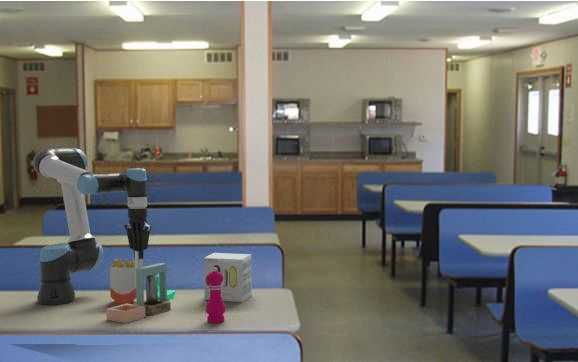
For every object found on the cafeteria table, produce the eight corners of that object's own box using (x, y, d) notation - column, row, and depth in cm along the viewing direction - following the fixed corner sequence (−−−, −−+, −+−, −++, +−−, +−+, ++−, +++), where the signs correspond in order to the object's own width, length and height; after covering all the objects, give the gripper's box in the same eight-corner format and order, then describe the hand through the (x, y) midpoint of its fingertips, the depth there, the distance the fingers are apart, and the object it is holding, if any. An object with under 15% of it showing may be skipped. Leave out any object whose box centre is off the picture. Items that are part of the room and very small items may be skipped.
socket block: (133, 311, 262) (133, 304, 262) (152, 306, 270) (152, 298, 270) (152, 315, 257) (152, 307, 256) (170, 309, 265) (170, 302, 265)
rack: (106, 319, 251) (106, 308, 251) (126, 313, 259) (126, 303, 259) (125, 323, 245) (125, 312, 245) (145, 317, 254) (145, 306, 253)
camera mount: (164, 303, 276) (164, 278, 276) (147, 302, 278) (147, 277, 277) (176, 296, 288) (175, 272, 287) (159, 295, 290) (159, 272, 289)
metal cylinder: (144, 311, 263) (143, 275, 262) (152, 308, 267) (151, 273, 266) (152, 312, 260) (151, 276, 260) (160, 310, 264) (159, 274, 263)
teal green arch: (136, 313, 259) (135, 268, 258) (161, 305, 270) (160, 263, 269) (142, 314, 257) (141, 269, 256) (167, 306, 268) (166, 263, 267)
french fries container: (114, 300, 281) (113, 257, 280) (139, 300, 280) (138, 257, 279) (110, 302, 277) (109, 259, 276) (135, 303, 275) (134, 259, 274)
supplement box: (203, 300, 279) (202, 257, 278) (214, 293, 292) (213, 252, 291) (243, 302, 275) (242, 259, 274) (252, 295, 288) (252, 253, 287)
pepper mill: (206, 318, 251) (205, 265, 250) (225, 318, 251) (225, 265, 250) (205, 324, 244) (204, 269, 242) (225, 323, 244) (224, 268, 243)
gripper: (118, 207, 265) (120, 267, 267) (142, 209, 258) (143, 270, 260) (132, 206, 272) (134, 264, 273) (156, 207, 264) (157, 267, 266)
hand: (138, 266), depth 266 cm, fingers closed
